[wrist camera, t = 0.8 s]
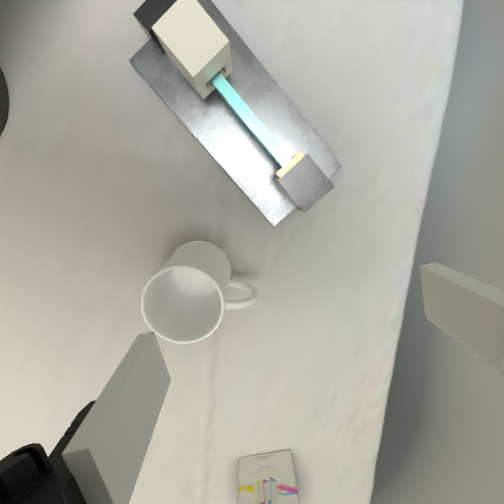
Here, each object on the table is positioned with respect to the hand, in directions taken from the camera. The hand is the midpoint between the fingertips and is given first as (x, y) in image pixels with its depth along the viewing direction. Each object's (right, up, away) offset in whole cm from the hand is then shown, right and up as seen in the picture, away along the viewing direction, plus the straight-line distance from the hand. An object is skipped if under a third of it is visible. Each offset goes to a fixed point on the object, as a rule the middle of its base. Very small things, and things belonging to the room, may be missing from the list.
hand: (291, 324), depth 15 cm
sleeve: (-7, +23, +18) cm, 30 cm away
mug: (-7, +1, +27) cm, 28 cm away
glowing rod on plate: (-3, +20, +22) cm, 30 cm away
